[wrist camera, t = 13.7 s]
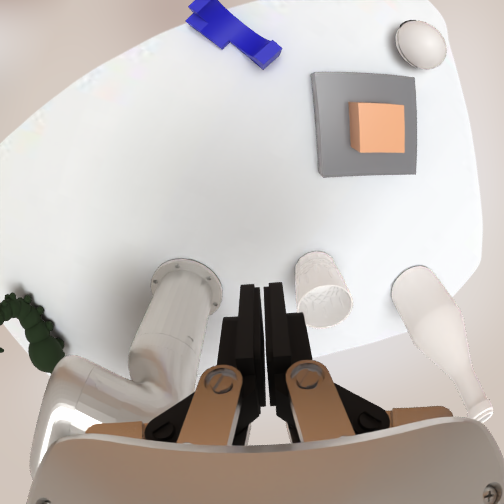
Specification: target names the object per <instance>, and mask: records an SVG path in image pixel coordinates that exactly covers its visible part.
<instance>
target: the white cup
mask: <svg viewBox="0 0 504 504" xmlns="http://www.w3.org/2000/svg"><path fill="white" fill-rule="evenodd" d="M295 293H296V305H297V313H299V312H303V314H304V318H305V323H306V325H307V326H309V327H312V328H317V329H324V328H330V327H333V326H335V325H338V324H339V323H341V322H342V321H344V320H345V319H346V318H347V317H348V315H349V314H350V312H351V310H352V307H353V298H352V296H351V294H350V291H349V289H348V287H347V285H346V283H345V281H344V278H343V277H342V275H341V273H340V271H339V269H338V268H337V266H336V265H335V263H334V260H333V258H332V257H330V256H329V255H328V254H326V253H324V252H319V251H315V252H310V253H307V254H305V255H304V256H303V257H301V258H300V259H299V261H298V262H297V264H296V266H295Z"/></svg>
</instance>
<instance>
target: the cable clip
mask: <svg viewBox="0 0 504 504" xmlns="http://www.w3.org/2000/svg"><path fill="white" fill-rule="evenodd" d="M188 7H189V8H190V9H191V11H192V12H193V14H192V15H191V16H190V17H189V18H188V19H187V20H186V22H187V23H188V24H189V25H190V26H192V27H193V28H194V29H196V30H197V31H198V32H200V33H201V34H203V35H204V36H205V37H207V38H208V39H209V40H210V41H212V42H213V43H214V44H216V45H217V46H218V47H219V48H221V49H223V48H224V47H226V46H227V45H228V44H229V43H230V42H231V43H232V44H233V45H234V46H236V47H237V48H238V49H239V50H241V51H242V52H243V53H244V54H245V55H247V56H248V57H249V58H250V59H251V60H252V61H254V62H255V63H256V64H257V65H258V66H259V67H261V68H262V69H263V70H264V69H265V68H266V67H267V66H268V65H269V64H270V63H271V62H273V61H274V60H275V59H276V58H277V57H278V56H279V55H280V53H281V50H282V48H281V47H280V46H279V45H278V44H277V43H276V42H275V41H273V40H272V41H269V40H267V39H265V38H263V37H261V36H260V35H258V34H257V33H255V32H254V31H252V30H251V29H250V28H248V27H247V26H246V25H244V24H243V23H242V22H241V21H239V20H238V19H237V18H236V17H235V16H233V15H232V14H231V13H230V12H229V11H228V10H227V9H226V8H225V7H224V6H223V5H222V4H221V3H220V2H219V1H218V0H195V1H194V2H193V3H192V4H190V5H189V6H188Z"/></svg>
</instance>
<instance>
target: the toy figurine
mask: <svg viewBox="0 0 504 504" xmlns="http://www.w3.org/2000/svg"><path fill="white" fill-rule="evenodd" d="M30 303H31V297H30V296H29V295H26V296H25V297H24V299H23V298H22V297H19V298H18V299H16V295H15V293H13V292H12V293H10V295H9V294H6V295H5V300H3V301H2V302H1V303H0V325H2V324H3V322H4V321H8V320H10V319H11V318H17V319H19V321H20V324H21V325H22V327H23V328H24V329H25V335H26V338H27V340H28V341H29V342H30V344H29V356H30V359H31V361H32V363H33V365H34V366H35V367H37V368H38V369H39V370H41V371H43V372H48V373H51V374H52V372H53V370H54V368H55V366H56V365H57V363H58V362H59V361H60V360H61V359H62V358H63V357H64V356H65V353H64V352H63V350H62V349H63V348H64V342H63V341H62V340H61V339H59V338H54V337H52V336H51V335H50V331H52V330H53V327H54V326H53V324H52V322H51V321H46V322H44V321H43V320H42V319H41V315H42V314H43V312H44V309H43V308H42V307H41V306H39V307H37V308H35V307H34V306H31V305H30ZM2 352H4V349H2V348H0V353H2Z"/></svg>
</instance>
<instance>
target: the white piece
mask: <svg viewBox="0 0 504 504" xmlns="http://www.w3.org/2000/svg"><path fill="white" fill-rule="evenodd" d="M395 39H396V46H397V49H398V51H399V53H400V55H401V56H402V57H403V59H404V60H406V61H407V62H408V63H409V64H410V65H412V66H414V67H416V68H421V69H426V70H428V69H433V68H436V67H438V66H439V65H441V64H442V62H443V61H444V59H445V57H446V53H447V48H446V43H445V40H444V38H443V36H442V35H441V33H440V32H439V31H438V30H437V29H436V28H435V27H433V26H431V25H430V24H428V23H426V22H422V21H416V20H409V21H405V22H404V23H402V24H401V25H400V28H399V29H398V31H397V33H396V37H395Z"/></svg>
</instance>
